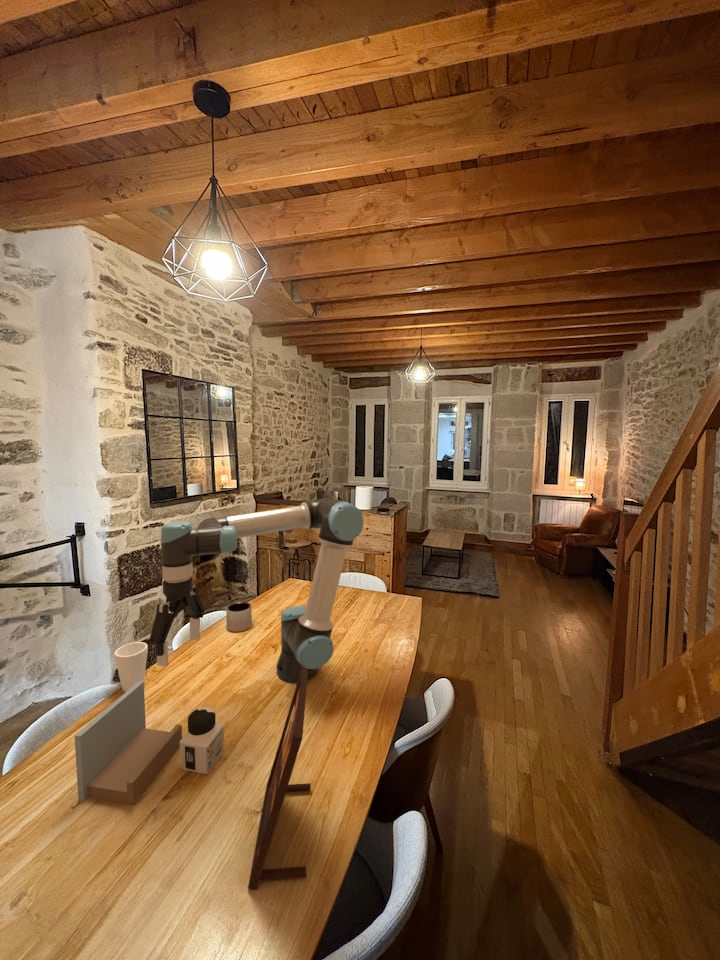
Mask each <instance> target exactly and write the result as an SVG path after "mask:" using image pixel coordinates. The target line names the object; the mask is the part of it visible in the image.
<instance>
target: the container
mask: <svg viewBox="0 0 720 960" xmlns="http://www.w3.org/2000/svg"><path fill="white" fill-rule="evenodd" d="M224 731H225V730H224V724H223V723H217V722H216V710H215V709H214V708H212V707H210V706H201V707H198V708H196V709H195V710H193V711H192V712H191V713H190V714H189V715H188V717H187V732H186V734H184V736H182V739H181V740H180V747H179V757H180V758H179V759H180V765H179V767H180V769H181V770H184V771H188V772H194V773H199V774H204V775H208V774H209V773H210V772H211V770H212V769H213V767H214V765H216V763H217V761H218V760H219V759H220V758H221V756H222V754H223V753H224V752H225V745H224V744H225V741H224V740H225V737H224V736H225V735H224V734H225V733H224Z"/></svg>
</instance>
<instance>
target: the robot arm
mask: <svg viewBox="0 0 720 960" xmlns="http://www.w3.org/2000/svg"><path fill="white" fill-rule="evenodd" d="M363 527H364V516H363V514H362V512H361V511H360V509H359V508H358V507H357V506H355V505H354V504H352V503H351V502H348V501H343V500H340V499H337V498H334V497H327V498H320V499H315V500H311V501H310V500H309V501H305V502H301V504H300V505H297V506H290V507H283V508H277V509H276V508H275V509H269V510H262V511H256V512H249V513H244V514H243V513H242V514H235V515H231V516H222V517H214V516H208V517H205V518H203V519H201V520H200V521H199V523H198V524H197V528H193V527H192V524H191V523H190V522H189V521H173V522H168V523H165V524H164V525H162V526H161V528H160V550H161V551H160V553H161V567H162V570H161V571H162V594H163V595H164V596H165V599H166V600H165V602H163V603H157V605H156V613H155V614H156V615H155V617H154V622H153V625H152V629H151V632H150V637H149V639H148V645H155V656H156V658H157V659H156V663H157V666H158V667H168V666H169V644H168V643H169V642H168V641H166V640H167V638H168V636H169V632H170V630H171V628H172V626H173V624H174V620H175V619H176V618H177V617H178V615H179V614H180V613H181V612H182V611H184V610H185V611H186V612H187V613H188V614H189V615H190V616H191V617H190V618H189V637H190V638H189V639H190V640H191V641H200V639H201V634H200V633H201V632H200V631H201V630H200V625H201V622H200V621H201V619H203V618H204V613H205V607H204V605H203V603H202V600H201V598H200V595H199V591H198V587H196V586H194V581H193V577H192V576H193V574H194V573H193V571H194V569H193V559H192V558H193V557H195V556H196V557H197V556H206V555H214V554H225V553H231V552H235V551H236V549H237V548H238V539H240V538H241V539H242V538H247V537H248V538H249V537H253V536H258V535H265V534H270V533H276V532H283V531H288V530H294V529H299V528H304V529H306V530H312V529H320V530H319V533H318V539H319V541H320V544H321V545H320V548H319V552H318V558H317V560H316V566H315V568H314V569H315V570H314V574H313V577H312V582H311V587H310V590H309V595H308V597H307V598H308V599H307V603H306V605H295V606H291V607H287V608H286V609H284V610H282V612H281V614H280V615H281V617H280V632H281V633H280V635H281V637H280V638H281V639H280V643H281V644H280V645H281V649H280V650H281V651H280V654H279V657H278V660H277V664H276V675H277V677H278V678H279V679H280V680H282V681H284V682H287V683H297V682H298V679H299V675H300V672H301V668H304V669H308V679H307V681H309V680H311V679H312V678H314V677H315V676H316V675H317V674H318V672H319V671H320V670H319V668H321V667H323V666H324V665H325V664H327V663H328V662H329V661H330V659H331V658H332V656H333V654H334V651H335V650H334V647H335V646H334V642H333V641H332V639H331V637H332V632H333V630H334V629H333V628H334V624H333V622H332V620H331V616H332V613H333V608H334V604H335V599H336V596H337V591H338V588H339V583H340V578H341V575H342V571H343V567H344V563H345V557H346V553H347V550H348V549H349V548H351V547H352V546H353V544H354V540H355V539H357V537H359V536H360V535H361V533H362V531H363Z"/></svg>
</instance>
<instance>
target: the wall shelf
mask: <svg viewBox="0 0 720 960" xmlns="http://www.w3.org/2000/svg"><path fill="white" fill-rule="evenodd" d="M145 702H146V701H145V681H144V682H142V681H139V682H137V683H136V684H135V685H134V686H133V687H131V688H130V689H129V690H128V691H127V692H124V693H123V694H122V695H121V696H119V697H118V698H117V699H116V700H115V701H114V702H112V703H111V704H110V705H109V706H108V707H107V708H105V709H104V710H103V711H102V712H100V713H99V714H98V715H97V716H96V717H95V718H94V719H92V720H91V721H90V722H89V723H88V724H86V725H85V726H84V727H83V728H82V729H80V730H79V731H78V732H77V733H76V734H75V735H74V749H75V751H74V752H75V765H76V780H77V798H78V799H77V800H78V801H79V802H85V801H87V800H88V798H89V799H92V800H93V799H95V800H100V801H104V802H105V801H106V802H112V803H116V804H117V803H118V804H123V805H130V806H135V804H136V803H137V802H138V800H140V798H141V797H142V795H144V793H145V792H146V791H147V789H148V788H149V787H150V785H151V784H152V783H153V782H154V780H155V779H156V778H157V776H158V775H160V772H161V771H162V770H163V769H164V768H165V767H166V765H167V764H168V763H169V761H170V760H171V759H172V757H174V755H175V754H176V753H177V751H178V750H180V740H181V739H182V738H183V725H182V724H178V723H177V724H176V725H175V726H174V727H173V728H172V729H171V730H170V731H167V730H158V729H151V728H147V726H146V725H147V723H146V703H145Z"/></svg>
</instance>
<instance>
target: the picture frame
mask: <svg viewBox="0 0 720 960" xmlns="http://www.w3.org/2000/svg"><path fill="white" fill-rule="evenodd" d="M307 679H308V669H304V668H301V672H300V675H299V679H298V682H296V686H295V688H294V693H293V695H292V699H291V703H290V705H289V710H288V712H287V715H286V719H285V723H284V726H283V730H282V732H281V736H280V739H279V742H278V746H277V750H276V753H275V756H274V760H273V763H272V766H271V770H270V772H269V776H268V780H267V783H266V786H265V790H264V791H265V792H264V798H263V804H262V808H261V814H260V820H259V825H258V831H257V837H256V842H255V847H254V853H253V857H252V864H251V870H250V874H249V879H248V886H247V890H253V891H257V889H258V886H259V883H260V881H271V880H272V881H273V880H284V879H285V880H286V879H298V878H306V877H307V866H292V867H278V868H267V869H266V868H265V869H264V866H265V863H266V859H267V856H268V855H269V854H268V853H269V850H270V846H271V843H272V840H273V836H274V834H275V830H276V826H277V823H278V820H279V817H280V813H281V810H282V807H283V803H284V800H285V798H286V794H287V793H298V792H299V793H300V792H311V785H312V784H311V783H295V784H292V783H291V784H290V780H291V777H292V773H293V771H294V767H295V765H296V760H297V758H298V755H299V754H298V753H299V751H300V748H301V745H302V741H303V733H304V725H305V712H306V711H305V710H306V699H307V689H308V688H307V687H308V680H307Z"/></svg>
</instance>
